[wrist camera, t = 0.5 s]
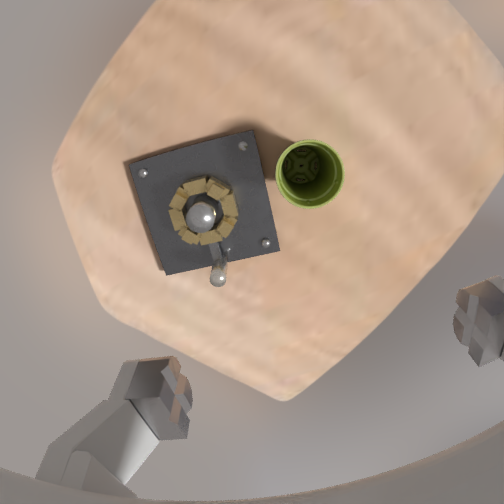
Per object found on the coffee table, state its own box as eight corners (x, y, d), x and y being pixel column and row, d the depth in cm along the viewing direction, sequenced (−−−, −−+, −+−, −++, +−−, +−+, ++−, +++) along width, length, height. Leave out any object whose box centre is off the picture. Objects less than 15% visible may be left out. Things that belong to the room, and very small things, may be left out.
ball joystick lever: (165, 186, 48) (155, 195, 42) (228, 169, 47) (225, 177, 42) (194, 274, 54) (188, 293, 49) (251, 261, 54) (252, 279, 48)
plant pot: (270, 193, 51) (275, 209, 43) (270, 135, 47) (275, 139, 39) (327, 193, 51) (342, 209, 43) (329, 136, 47) (346, 141, 39)
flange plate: (131, 163, 48) (114, 171, 41) (252, 129, 47) (254, 132, 40) (168, 271, 56) (158, 293, 49) (279, 247, 55) (284, 267, 48)
